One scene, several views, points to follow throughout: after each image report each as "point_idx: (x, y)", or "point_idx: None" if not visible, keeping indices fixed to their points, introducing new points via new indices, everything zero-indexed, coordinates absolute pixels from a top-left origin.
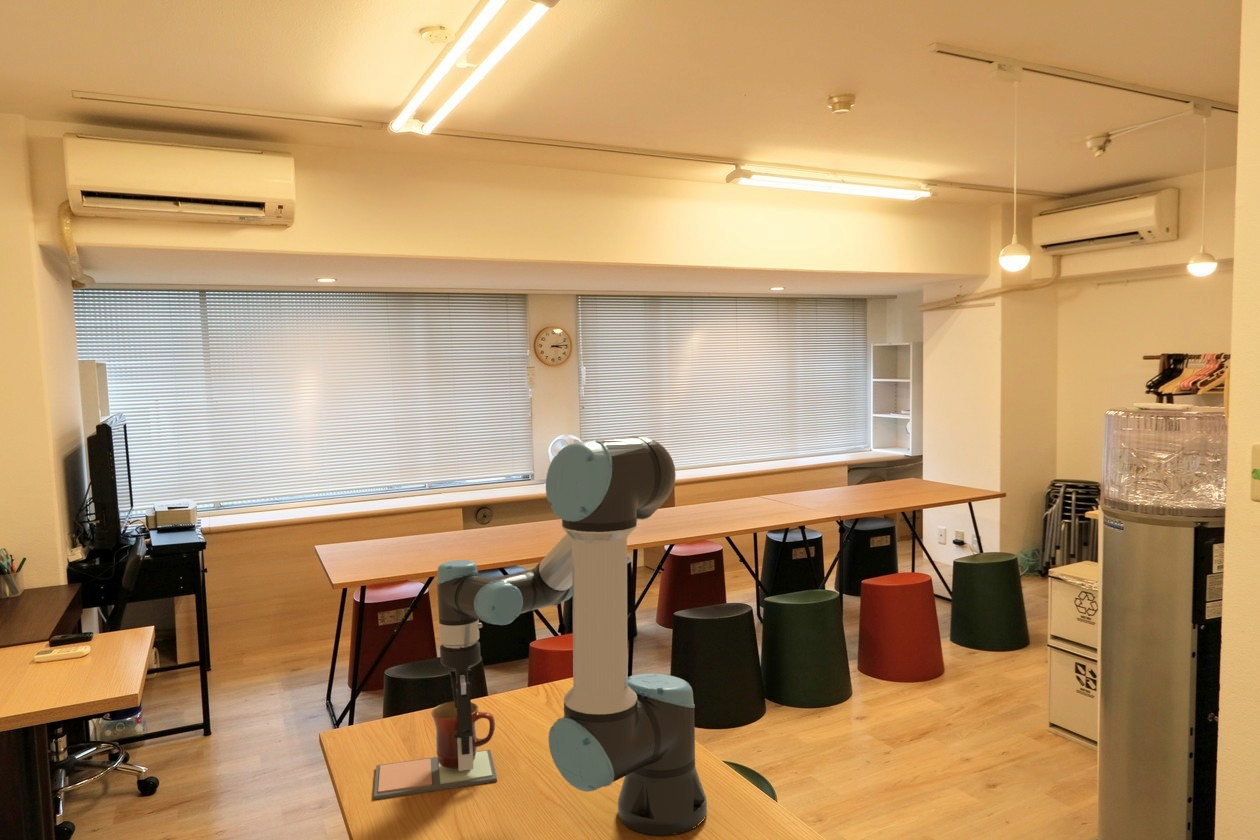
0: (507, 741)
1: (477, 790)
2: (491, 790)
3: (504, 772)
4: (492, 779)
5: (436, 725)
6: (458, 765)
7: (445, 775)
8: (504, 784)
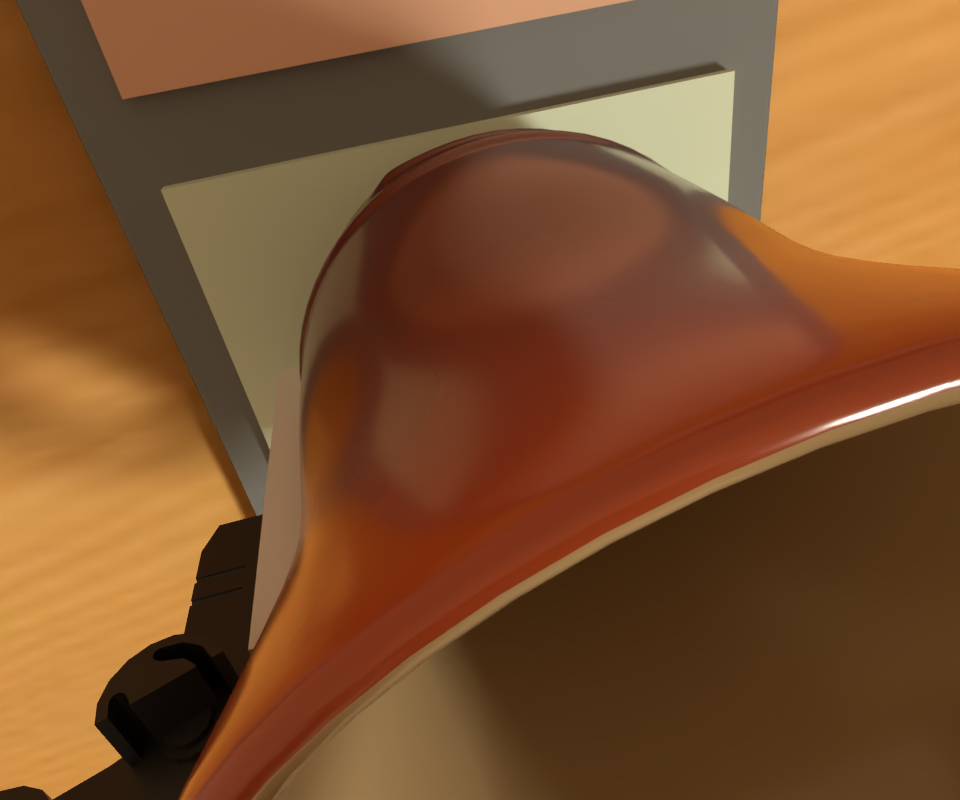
0: None
1: (141, 480)
2: (151, 560)
3: None
4: None
5: (482, 366)
6: (281, 395)
7: (318, 216)
8: None
